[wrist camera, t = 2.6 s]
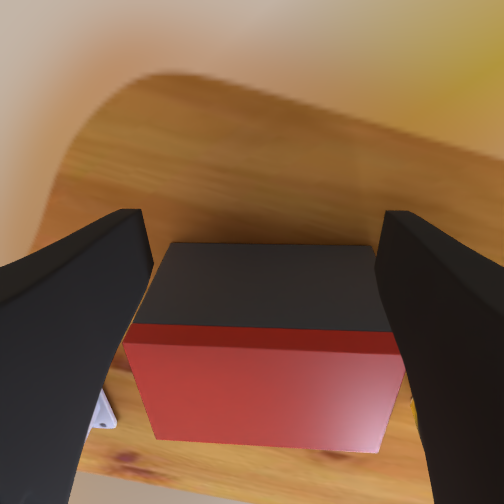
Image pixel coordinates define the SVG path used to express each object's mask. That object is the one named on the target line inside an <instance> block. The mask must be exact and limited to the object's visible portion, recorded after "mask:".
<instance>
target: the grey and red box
mask: <svg viewBox="0 0 504 504" xmlns="http://www.w3.org/2000/svg"><path fill="white" fill-rule="evenodd" d="M375 261H376V257H375V254H374V251H373V248H372V246H354V245H289V244H224V243H170V246H169V248H168V250H167V252H166V254H165V256H164V258H163V260H162V262H161V264H160V266H159V268H158V270H157V273H156V275H155V277H154V279H153V281H152V283H151V285H150V287H149V289H148V291H147V293H146V295H145V297H144V299H143V302H142V304H141V306H140V308H139V310H138V312H137V314H136V316H135V318H134V320H133V323H132V324H131V326H130V328H129V330H128V332H127V334H126V336H125V338H124V340H123V342H122V344H123V347H124V350H125V353H126V356H127V358H128V361H129V364H130V367H131V370H132V373H133V375H134V378H135V381H136V384H137V387H138V390H139V392H140V395H141V398H142V401H143V404H144V406H145V409H146V412H147V415H148V418H149V421H150V423H151V426H152V429H153V432H154V435H155V438H156V439H157V440H172V441H188V442H205V443H221V444H237V445H253V446H270V447H286V448H302V449H318V450H335V451H351V452H367V453H378V451H379V448H380V445H381V442H382V439H383V436H384V433H385V430H386V427H387V424H388V422H389V419H390V416H391V413H392V410H393V407H394V404H395V401H396V398H397V395H398V392H399V389H400V386H401V383H402V380H403V377H404V374H405V371H406V369H405V366H404V363H403V360H402V357H401V354H400V351H399V349H398V346H397V343H396V340H395V338H394V335H393V332H392V330H391V327H390V324H389V321H388V319H387V316H386V313H385V310H384V307H383V305H382V302H381V299H380V295H379V291H378V286H377V281H376V276H375V270H374V266H375Z"/></svg>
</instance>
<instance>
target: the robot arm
mask: <svg viewBox="0 0 504 504" xmlns="http://www.w3.org/2000/svg"><path fill="white" fill-rule="evenodd" d="M153 266H154V262H153V257H152V253H151V249H150V245H149V241H148V236H147V232H146V228H145V224H144V219H143V215H142V211H141V209H120V210H118V211H115V212H113V213H110V214H108V215H106V216H104V217H102V218H100V219H99V220H97V221H95V222H93V223H91V224H89V225H87V226H85V227H84V228H82V229H80V230H78V231H76V232H74V233H72V234H70V235H69V236H67V237H65V238H63V239H61V240H59V241H57V242H55V243H53V244H51V245H49V246H47V247H45V248H43V249H41V250H39V251H37V252H35V253H32V254H30V255H28V256H26V257H24V258H21V259H19V260H17V261H15V262H12V263H10V264H7V265H5V266H2V267H0V504H68V501H69V497H70V493H71V489H72V485H73V481H74V477H75V474H76V470H77V466H78V463H79V459H80V456H81V452H82V449H83V446H84V443H85V441H86V439H87V437H88V434H89V432H90V430H91V428H109V429H113V428H115V427H116V425H117V420H116V418H115V416H114V413H113V411H112V409H111V407H110V404H109V402H108V400H107V398H106V395H105V393H104V391H103V389H102V386H103V384H104V381H105V378H106V375H107V373H108V370H109V367H110V364H111V362H112V360H113V357H114V355H115V353H116V350H117V348H118V346H119V344H120V342H121V340H122V338H123V336H124V334H125V332H126V330H127V328H128V326H129V324H130V322H131V320H132V318H133V316H134V314H135V312H136V310H137V308H138V306H139V304H140V302H141V300H142V297H143V295H144V293H145V291H146V288H147V285H148V282H149V279H150V276H151V272H152V269H153ZM374 270H375V276H376V281H377V286H378V291H379V295H380V299H381V302H382V305H383V307H384V310H385V313H386V316H387V319H388V321H389V324H390V327H391V330H392V332H393V335H394V338H395V340H396V343H397V346H398V349H399V351H400V354H401V357H402V360H403V363H404V366H405V369H406V372H407V376H408V380H409V384H410V388H411V392H412V396H413V400H414V404H415V409H416V413H417V418H418V422H419V427H420V432H421V436H422V441H423V445H424V450H425V456H426V461H427V466H428V471H429V476H430V482H431V487H432V492H433V498H434V504H504V267H502V266H500V265H498V264H497V263H495V262H493V261H491V260H489V259H488V258H486V257H484V256H482V255H480V254H479V253H477V252H475V251H473V250H472V249H470V248H468V247H467V246H465V245H463V244H462V243H460V242H458V241H457V240H455V239H454V238H452V237H450V236H449V235H447V234H446V233H444V232H443V231H441V230H439V229H438V228H436V227H435V226H433V225H432V224H430V223H429V222H427V221H425V220H424V219H422V218H421V217H419V216H417V215H415V214H414V213H412V212H410V211H386V212H385V217H384V222H383V227H382V231H381V236H380V241H379V246H378V251H377V256H376V261H375V266H374Z"/></svg>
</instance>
